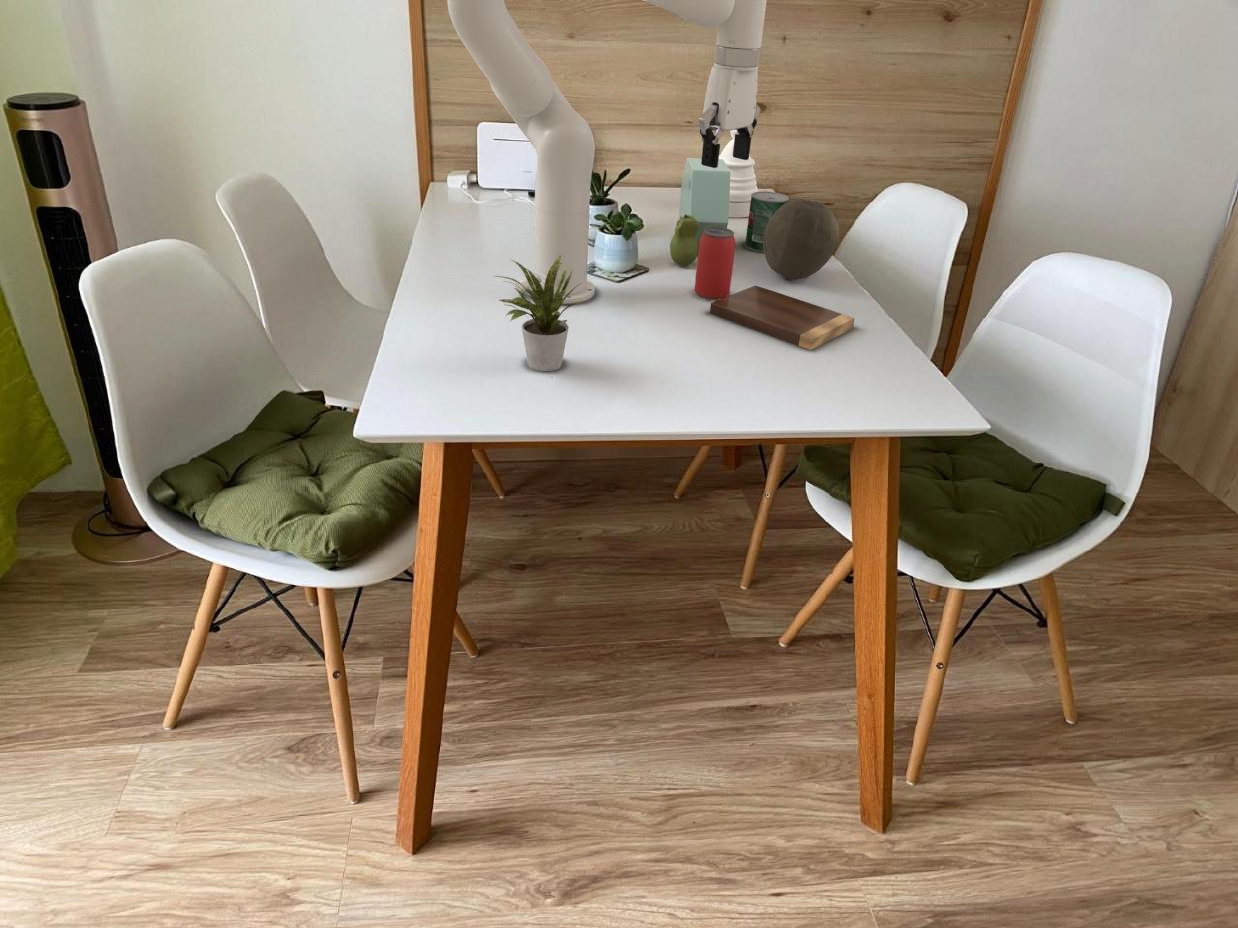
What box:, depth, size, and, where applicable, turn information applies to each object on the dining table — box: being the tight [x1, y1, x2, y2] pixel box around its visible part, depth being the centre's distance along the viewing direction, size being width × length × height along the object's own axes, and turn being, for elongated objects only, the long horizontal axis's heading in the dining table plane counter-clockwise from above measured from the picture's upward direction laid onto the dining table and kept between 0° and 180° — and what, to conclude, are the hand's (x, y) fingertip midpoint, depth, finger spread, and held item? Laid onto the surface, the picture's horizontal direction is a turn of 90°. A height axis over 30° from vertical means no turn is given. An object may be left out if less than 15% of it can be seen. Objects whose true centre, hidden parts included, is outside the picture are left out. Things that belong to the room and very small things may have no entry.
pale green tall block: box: [678, 157, 730, 250], centre depth 190 cm, size 17×8×21 cm
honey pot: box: [719, 130, 759, 218], centre depth 216 cm, size 13×13×18 cm
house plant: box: [493, 256, 586, 372], centre depth 137 cm, size 14×14×16 cm
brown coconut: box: [763, 198, 840, 281], centre depth 177 cm, size 14×14×15 cm
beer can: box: [693, 227, 736, 301], centre depth 167 cm, size 7×7×12 cm
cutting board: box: [709, 285, 856, 351], centre depth 160 cm, size 14×21×2 cm, turn 48°
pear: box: [669, 214, 699, 267], centre depth 181 cm, size 6×5×10 cm
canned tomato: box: [744, 190, 790, 254], centre depth 194 cm, size 8×8×11 cm
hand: (725, 162), depth 162 cm, fingers open, 9 cm apart
